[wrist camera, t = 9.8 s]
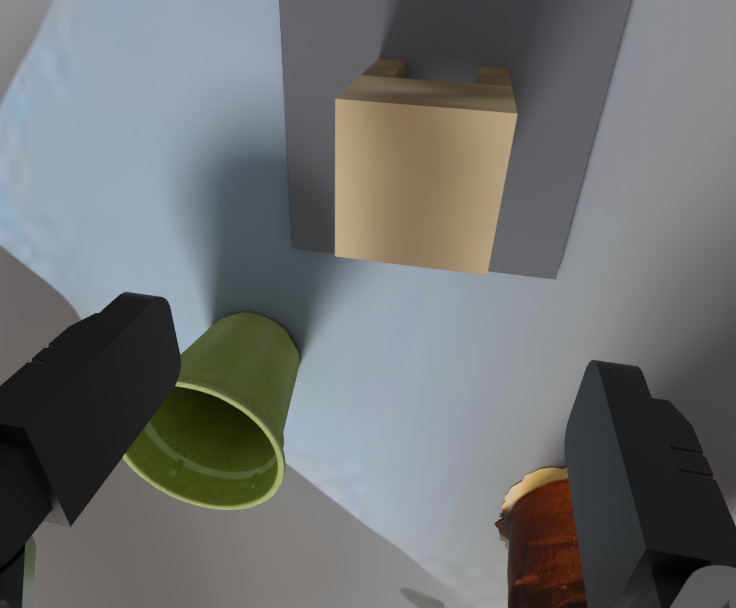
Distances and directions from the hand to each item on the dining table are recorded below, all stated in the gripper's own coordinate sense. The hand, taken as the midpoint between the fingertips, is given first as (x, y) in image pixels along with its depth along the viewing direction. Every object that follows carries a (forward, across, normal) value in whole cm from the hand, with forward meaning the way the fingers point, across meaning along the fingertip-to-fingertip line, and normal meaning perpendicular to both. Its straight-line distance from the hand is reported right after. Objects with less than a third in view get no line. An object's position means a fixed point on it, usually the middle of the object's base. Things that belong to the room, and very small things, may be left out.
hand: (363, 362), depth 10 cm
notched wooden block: (+17, 0, 0) cm, 17 cm away
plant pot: (+18, +10, +15) cm, 25 cm away
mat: (+17, 0, 0) cm, 17 cm away
